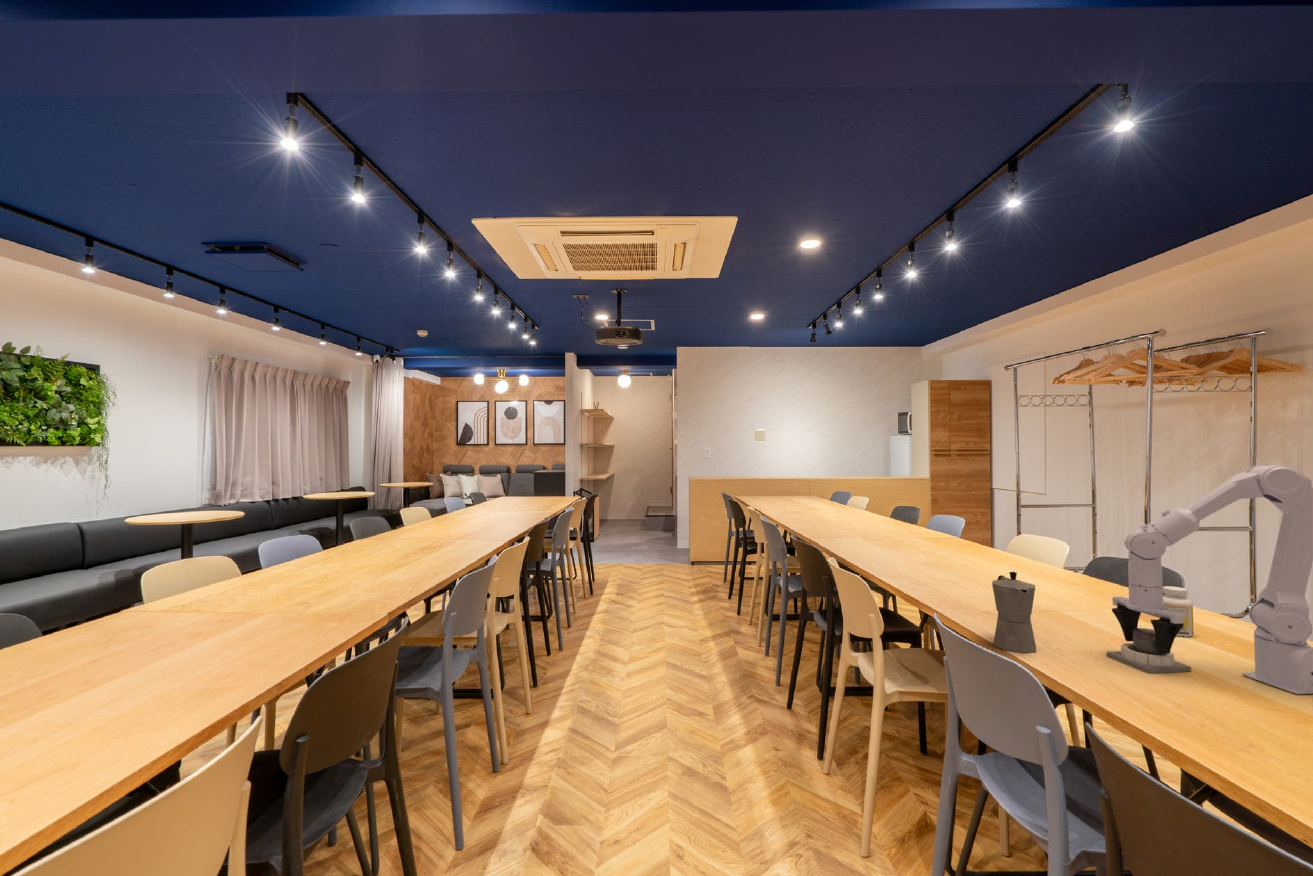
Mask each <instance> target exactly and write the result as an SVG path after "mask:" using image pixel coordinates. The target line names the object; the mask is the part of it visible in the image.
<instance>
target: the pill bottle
mask: <svg viewBox="0 0 1313 876" xmlns="http://www.w3.org/2000/svg"><path fill="white" fill-rule="evenodd" d="M1187 596H1188V589H1187V588H1185V587H1180V586H1179V587H1178V586H1172V585H1171V586H1169V585H1168V586H1167V585H1164V586H1163V607H1166V608H1168V609H1170V610H1173V611H1175V612H1178V613H1181V614H1183V623H1184V626H1183V628H1182V629H1181V630H1180V631H1179V632H1178V634H1177V635H1176V637H1182V636H1184V638H1187V637H1188V638H1189V637H1192V636H1194V605H1193V601H1192V600H1190V599H1189V598H1187ZM1158 620H1160V618H1158Z"/></svg>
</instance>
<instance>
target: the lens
mask: <svg viewBox="0 0 1313 876" xmlns="http://www.w3.org/2000/svg"><path fill="white" fill-rule="evenodd" d="M1132 643H1133V651H1136V652H1140V653H1144V654H1150V655H1163V654H1161V653H1158V650H1157V641H1156V634H1155V630H1154V629H1150V628H1143V627H1137V628H1134V629H1133V641H1132Z"/></svg>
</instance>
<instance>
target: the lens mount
mask: <svg viewBox="0 0 1313 876" xmlns="http://www.w3.org/2000/svg"><path fill="white" fill-rule="evenodd" d="M1105 655H1106V657H1107V658H1110V657H1111V658H1110V659H1112V658H1113V660H1115V661H1117V662H1120V663H1122V664H1124V665H1127V666H1129V667H1132V666H1133V667H1132V668H1135V669H1137V670H1139V671H1142V672H1144V673H1147V674H1162V673H1163V674H1164V673H1167V672H1169V673H1187V671H1191V672H1192V666H1190V665H1188V664H1185V663H1181V662H1180V661H1176V660H1175V654H1174V653H1173V652H1171V651H1170V653H1164V654H1163V655H1150V654H1144V653H1140V652H1136V651H1133V642H1132V643H1131V642H1130V643H1123V644H1121V645H1120V650H1117V651H1106V654H1105ZM1185 671H1186V672H1185ZM1167 674H1168V673H1167Z"/></svg>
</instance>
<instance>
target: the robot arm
mask: <svg viewBox="0 0 1313 876" xmlns="http://www.w3.org/2000/svg"><path fill="white" fill-rule="evenodd" d="M1312 481H1313V480H1312V479H1310V478H1309V477H1308V476H1306V475H1305V474H1303V472H1301V471H1300V470H1298V469H1297V468H1294V467H1293V466H1288V465H1269V464H1257V465H1256V464H1255V465H1254V466H1251V467H1249V468H1247V470H1245V471H1244V472H1243V471H1242V472H1240V473H1238V474H1235V475H1234V476H1232V477H1231V478H1229V479H1228V480H1226V481H1224V482H1223V483H1222V484H1220V485H1218V486H1217V487H1216V488H1214V489H1213V490H1212V491H1210V492H1208V493H1207V494H1205V495H1204V496H1203V497H1201V498H1199V499H1198V500H1196V501H1195V502H1193V503H1192V504H1191V505H1189V506H1188V507H1186V508H1176V507H1175V508H1174V507H1173V508H1172V509H1170V510H1169V509H1164V510H1163V511H1161V512H1160V513H1161V515H1160V516H1159V517H1157V518H1156V519H1154V520H1153V521H1151V522H1150V523H1148V524H1146V523H1143V524H1141V525H1140V528H1142V529H1135V530H1133V531H1131V532H1129V533H1128V534H1127V535H1126V538H1125V540H1124V546H1125V548H1126V549H1127V550H1128V563H1127V566H1128V568H1127V572H1128V575H1127V576H1128V578H1127V579H1128V597H1124V596H1112V605H1113V606H1116V607H1113V608H1111V613H1113V614H1114V617H1116V619H1117V621H1118V623H1119V626H1120V628H1121V631H1122V634H1123V637H1124V641H1126V642H1133V629H1134V628H1139V621H1140V617H1141V614H1145V615H1148V616H1152V617H1155V618H1157V619H1150V623H1151V625H1152V627H1153V630H1155V634H1156V641H1157V650H1158V653H1161V654H1164V653H1170V652H1171V650H1172V648H1173V643H1174V641H1175V639H1176V637H1177V636H1176V635H1177V634H1178V632H1179V631H1180V630H1181V629H1182V628H1183V626H1184V623H1183V614H1181V613H1178V612H1175V611H1173V610H1170V609H1168V608H1166V607H1163V596H1164V593H1163V587H1164V586H1163V585H1164V584H1163V566H1162V557H1163V555H1164V554H1165V553H1166V550H1167V547H1171V546H1173V545H1174V544H1177V543H1178V542H1179V541H1182V540H1183V539H1185V538H1186V537H1188V536H1190V535H1192V534H1193V533H1194V532H1197V531H1198V530H1199V529H1200V522H1201V521H1202V520H1203V519H1206V518H1207V517H1209V516H1210V515H1213V514H1214V513H1215V514H1216V512H1218V511H1221V510H1222V509H1223V508H1226V507H1228V506H1229V505H1231V504H1233V503H1235V502H1237V501H1239V500H1242V499H1256V498H1265V500H1268V501H1269V502H1270V503H1271V504H1272V505H1274V506H1275V508H1278V510H1279V511H1280V512H1281V513H1282V517H1281V522H1280V526H1279V531H1278V535H1277V539H1276V543H1275V548H1274V553H1273V557H1272V562H1271V566H1270V570H1269V574H1268V579H1267V585H1266V587H1264V588H1263V589H1262V590H1261V591H1260V592H1259V595H1258V598H1257V600H1256V601H1255V602H1254V603H1253V604H1251V606H1250V607H1249V610H1248V616H1249V619H1250V620H1251V622H1252V623H1253V624H1254V625H1256V628H1255V629H1254V630H1253V645H1254V672H1242V676H1244V675H1245V676H1244V677H1246V676H1247V678H1250V679H1252V680H1256V681H1259V682H1261V683H1264V684H1267V685H1270V686H1272V687H1275V688H1278V689H1281V690H1284V691H1286V692H1289V693H1292V694H1296V695H1304V694H1305V695H1307V694H1311V695H1312V694H1313V647H1312V646H1311V645H1310V644H1309V643H1308V639H1309V638H1310V637H1311V635H1312V633H1313V624H1312V623H1311V621H1310V611H1311V610H1310V609H1311V608H1310V606H1309V604H1308V601H1307V600H1306V592H1307V588H1308V584H1309V583H1308V582H1309V579H1310V574H1311V570H1312V566H1313V486H1312V485H1313V483H1312ZM1159 618H1160V620H1159Z"/></svg>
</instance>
